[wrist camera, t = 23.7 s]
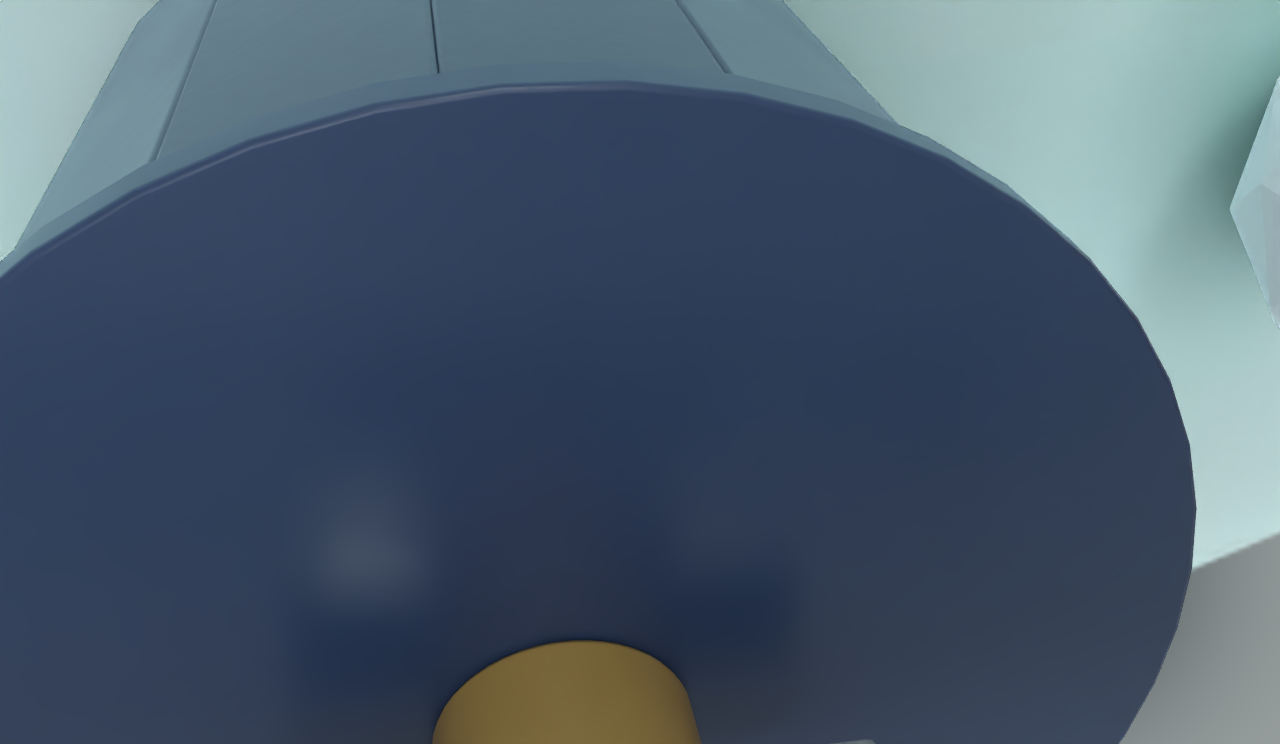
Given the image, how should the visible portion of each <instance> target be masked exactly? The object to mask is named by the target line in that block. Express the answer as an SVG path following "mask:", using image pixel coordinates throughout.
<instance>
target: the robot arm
mask: <svg viewBox="0 0 1280 744" xmlns="http://www.w3.org/2000/svg"><path fill="white" fill-rule="evenodd" d="M833 744H875V743H874V742H873V741H872V740H869V739H864V740H856V741H848V742H841V743H833Z"/></svg>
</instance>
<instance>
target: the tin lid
mask: <svg viewBox="0 0 1280 744" xmlns="http://www.w3.org/2000/svg"><path fill="white" fill-rule="evenodd" d="M1195 520H1196V500H1195V490H1194V481H1193V471H1192V461H1191V452H1190V444H1189V440H1188V437H1187V434H1186V430H1185V427H1184V424H1183V420H1182V417H1181V414H1180V410H1179V407H1178V404H1177V400H1176V397H1175V394H1174V391H1173V387H1172V384H1171V381H1170V378H1169V376H1168V375H1167V373H1166V371H1165V369H1164V367H1163V365H1162V363H1161V361H1160V359H1159V358H1158V356H1157V354H1156V352H1155V350H1154V348H1153V346H1152V344H1151V342H1150V341H1149V339H1148V337H1147V335H1146V333H1145V331H1144V329H1143V327H1142V325H1141V323H1140V322H1139V320H1138V318H1137V317H1136V315H1135V314H1134V313H1133V312H1132V310H1131V309H1130V308H1129V307H1128V305H1127V304H1126V303H1125V302H1124V300H1123V299H1122V298H1121V297H1120V295H1119V294H1118V293H1117V292H1116V291H1115V289H1114V288H1113V287H1112V286H1111V284H1110V283H1109V282H1108V281H1107V279H1106V278H1105V277H1104V276H1103V274H1102V273H1101V272H1100V271H1099V269H1098V268H1097V267H1096V266H1095V264H1094V263H1093V262H1092V261H1091V259H1090V258H1089V257H1088V256H1087V255H1086V254H1085V253H1084V252H1082V251H1081V250H1080V249H1079V248H1078V247H1077V246H1076V245H1075V244H1074V243H1073V242H1072V241H1071V240H1070V239H1069V238H1068V237H1067V236H1066V235H1065V234H1063V233H1062V232H1061V231H1060V230H1059V229H1058V228H1056V227H1055V226H1054V225H1053V224H1052V223H1051V222H1049V221H1048V220H1047V219H1046V218H1045V217H1044V216H1043V215H1041V214H1040V213H1039V212H1038V211H1037V210H1036V209H1034V208H1033V207H1032V206H1031V205H1030V204H1029V203H1027V202H1026V201H1025V200H1024V199H1023V198H1022V197H1021V196H1019V195H1018V194H1017V193H1016V192H1015V191H1014V190H1012V189H1011V188H1010V187H1009V186H1008V185H1007V184H1005V183H1003V182H1002V181H1000V180H998V179H997V178H995V177H993V176H992V175H990V174H989V173H987V172H985V171H984V170H982V169H980V168H979V167H977V166H975V165H974V164H972V163H970V162H969V161H967V160H965V159H964V158H962V157H960V156H959V155H957V154H956V153H954V152H952V151H951V150H949V149H947V148H946V147H944V146H942V145H941V144H939V143H937V142H936V141H934V140H932V139H931V138H929V137H927V136H924V135H922V134H919V133H917V132H914V131H912V130H910V129H907V128H905V127H902V126H900V125H897V124H895V123H892V122H890V121H888V120H885V119H883V118H880V117H878V116H875V115H873V114H870V113H868V112H866V111H863V110H861V109H858V108H856V107H853V106H851V105H848V104H846V103H844V102H841V101H839V100H836V99H832V98H828V97H824V96H820V95H815V94H811V93H807V92H803V91H799V90H795V89H791V88H787V87H783V86H779V85H775V84H771V83H767V82H763V81H759V80H755V79H751V78H747V77H743V76H739V75H735V74H729V73H720V72H710V71H701V70H692V69H682V68H673V67H664V66H655V65H645V64H636V63H627V62H577V63H533V64H496V65H489V66H483V67H476V68H469V69H463V70H456V71H450V72H443V73H436V74H430V75H423V76H417V77H410V78H403V79H397V80H390V81H384V82H377V83H372V84H369V85H365V86H362V87H358V88H355V89H351V90H348V91H344V92H341V93H337V94H333V95H330V96H326V97H323V98H319V99H316V100H312V101H309V102H305V103H302V104H298V105H295V106H291V107H288V108H284V109H281V110H277V111H274V112H270V113H267V114H263V115H260V116H256V117H253V118H251V119H249V120H246V121H244V122H242V123H239V124H237V125H235V126H233V127H230V128H228V129H226V130H223V131H221V132H219V133H216V134H214V135H212V136H209V137H207V138H205V139H203V140H200V141H198V142H196V143H193V144H191V145H189V146H186V147H184V148H182V149H179V150H177V151H175V152H173V153H170V154H168V155H166V156H163V157H161V158H159V159H156V160H154V161H152V162H150V163H147V164H145V165H143V166H141V167H139V168H138V169H136V170H134V171H133V172H131V173H129V174H128V175H126V176H124V177H123V178H121V179H119V180H118V181H116V182H115V183H113V184H111V185H110V186H108V187H106V188H105V189H103V190H101V191H100V192H98V193H96V194H95V195H93V196H92V197H90V198H88V199H87V200H85V201H83V202H82V203H80V204H78V205H77V206H75V207H73V208H72V209H70V210H69V211H67V212H65V213H64V214H62V215H60V216H59V217H57V218H55V219H54V220H52V221H50V222H49V223H47V224H46V225H44V226H42V227H41V228H40V229H39V230H38V231H36V232H35V233H34V234H33V235H32V236H30V237H29V238H28V239H27V240H26V241H24V242H23V243H22V244H21V245H20V246H18V247H17V248H16V249H15V250H14V251H12V252H11V253H10V254H9V255H8V256H6V257H5V258H4V259H3V260H2V261H0V744H833V743H841V742H848V741H856V740H864V739H869V740H872V741H873V742H874V743H875V744H1119V743H1120V742H1121V740H1122V739H1123V737H1124V736H1125V734H1126V733H1127V731H1128V729H1129V727H1130V726H1131V724H1132V722H1133V720H1134V719H1135V717H1136V715H1137V713H1138V711H1139V710H1140V708H1141V706H1142V705H1143V703H1144V701H1145V699H1146V698H1147V696H1148V694H1149V692H1150V691H1151V689H1152V687H1153V685H1154V684H1155V681H1156V679H1157V676H1158V674H1159V672H1160V669H1161V667H1162V664H1163V662H1164V659H1165V657H1166V654H1167V652H1168V649H1169V647H1170V645H1171V642H1172V640H1173V637H1174V635H1175V632H1176V630H1177V627H1178V623H1179V619H1180V615H1181V611H1182V607H1183V603H1184V598H1185V595H1186V590H1187V586H1188V582H1189V578H1190V574H1191V570H1192V559H1193V546H1194V533H1195Z"/></svg>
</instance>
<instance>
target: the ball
mask: <svg viewBox="0 0 1280 744" xmlns="http://www.w3.org/2000/svg"><path fill="white" fill-rule="evenodd" d="M1229 210H1230V212H1231V215H1232V217H1233V220H1234V222H1235V225H1236V227H1237V230H1238V232H1239V235H1240V237H1241V240H1242V242H1243V245H1244V247H1245V250H1246V252H1247V255H1248V257H1249V260H1250V262H1251V265H1252V267H1253V270H1254V272H1255V275H1256V277H1257V280H1258V282H1259V285H1260V287H1261V290H1262V292H1263V295H1264V297H1265V300H1266V302H1267V305H1268V308H1269V310H1270V313H1271V315H1272V318H1273V320H1274V323H1275V325H1276V326H1277V327H1278V328H1279V329H1280V77H1279V78H1278V79H1277V82H1276V84H1275V87H1274V90H1273V93H1272V95H1271V98H1270V101H1269V103H1268V106H1267V109H1266V111H1265V114H1264V117H1263V119H1262V122H1261V125H1260V128H1259V130H1258V133H1257V136H1256V138H1255V141H1254V144H1253V146H1252V149H1251V152H1250V154H1249V157H1248V160H1247V163H1246V165H1245V168H1244V171H1243V173H1242V176H1241V179H1240V181H1239V184H1238V187H1237V189H1236V192H1235V195H1234V198H1233V200H1232V203H1231V206H1230V208H1229Z"/></svg>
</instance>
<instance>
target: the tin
mask: <svg viewBox="0 0 1280 744" xmlns="http://www.w3.org/2000/svg"><path fill="white" fill-rule="evenodd" d="M577 62H627V63H636V64H645V65H655V66H664V67H673V68H682V69H692V70H701V71H710V72H720V73H729V74H735V75H739V76H743V77H747V78H751V79H755V80H759V81H763V82H767V83H771V84H775V85H779V86H783V87H787V88H791V89H795V90H799V91H803V92H807V93H811V94H815V95H820V96H824V97H828V98H832V99H836V100H839V101H841V102H844V103H846V104H848V105H851V106H853V107H856V108H858V109H861V110H863V111H866V112H868V113H870V114H873V115H875V116H878V117H880V118H883V119H885V120H888V121H890V122H892V123H895V124H897V123H896V122H895V121H894V120H893V119H892V118H891V116H890V115H889V114H888V113H887V112H886V111H885V110H884V109H883V108H882V107H881V106H880V105H879V104H878V103H877V102H876V100H875V99H874V98H873V97H872V96H871V95H870V94H869V93H868V92H867V91H866V90H865V89H864V88H863V87H862V85H861V84H860V83H859V82H858V81H857V80H856V79H855V78H854V77H853V76H852V75H851V74H850V73H849V72H848V70H847V69H846V68H845V67H844V66H843V65H842V64H841V63H840V62H839V61H838V60H837V59H836V58H835V57H834V55H833V54H832V53H831V52H830V51H829V50H828V49H827V48H826V47H825V46H824V45H823V44H822V43H821V42H820V40H819V39H818V38H817V37H816V36H815V35H814V34H813V33H812V32H811V31H810V30H809V29H808V28H807V27H806V25H805V24H804V23H803V22H802V21H801V20H800V19H799V18H798V17H797V16H796V15H795V14H794V13H793V12H792V10H791V9H790V8H789V7H788V6H787V5H786V4H785V3H784V2H783V1H782V0H160V1H159V2H158V3H157V4H156V5H155V6H154V7H153V8H152V9H151V10H150V11H149V12H148V13H147V14H146V15H145V16H144V17H143V18H142V19H141V20H140V21H139V22H138V23H137V25H136V27H135V28H134V30H133V32H132V33H131V35H130V37H129V39H128V41H127V42H126V44H125V46H124V48H123V50H122V52H121V53H120V55H119V57H118V59H117V61H116V63H115V64H114V66H113V68H112V70H111V72H110V74H109V76H108V77H107V79H106V81H105V83H104V85H103V87H102V88H101V90H100V92H99V94H98V96H97V98H96V99H95V101H94V103H93V105H92V107H91V109H90V111H89V112H88V114H87V116H86V118H85V120H84V122H83V123H82V125H81V127H80V129H79V131H78V133H77V134H76V136H75V138H74V140H73V142H72V144H71V146H70V147H69V149H68V151H67V153H66V155H65V157H64V158H63V160H62V162H61V164H60V166H59V168H58V169H57V171H56V173H55V175H54V177H53V179H52V181H51V182H50V184H49V186H48V188H47V190H46V192H45V193H44V195H43V197H42V199H41V201H40V203H39V204H38V206H37V208H36V210H35V212H34V214H33V216H32V217H31V219H30V221H29V223H28V225H27V227H26V228H25V230H24V232H23V234H22V236H21V238H20V239H19V241H18V243H17V245H16V247H15V249H16V248H17V247H18V246H20V245H21V244H22V243H23V242H24V241H26V240H27V239H28V238H29V237H30V236H32V235H33V234H34V233H35V232H36V231H38V230H39V229H40V228H41V227H42V226H44V225H46V224H47V223H49V222H50V221H52V220H54V219H55V218H57V217H59V216H60V215H62V214H64V213H65V212H67V211H69V210H70V209H72V208H73V207H75V206H77V205H78V204H80V203H82V202H83V201H85V200H87V199H88V198H90V197H92V196H93V195H95V194H96V193H98V192H100V191H101V190H103V189H105V188H106V187H108V186H110V185H111V184H113V183H115V182H116V181H118V180H119V179H121V178H123V177H124V176H126V175H128V174H129V173H131V172H133V171H134V170H136V169H138V168H139V167H141V166H143V165H145V164H147V163H150V162H152V161H154V160H156V159H159V158H161V157H163V156H166V155H168V154H170V153H173V152H175V151H177V150H179V149H182V148H184V147H186V146H189V145H191V144H193V143H196V142H198V141H200V140H203V139H205V138H207V137H209V136H212V135H214V134H216V133H219V132H221V131H223V130H226V129H228V128H230V127H233V126H235V125H237V124H239V123H242V122H244V121H246V120H249V119H251V118H253V117H256V116H260V115H263V114H267V113H270V112H274V111H277V110H281V109H284V108H288V107H291V106H295V105H298V104H302V103H305V102H309V101H312V100H316V99H319V98H323V97H326V96H330V95H333V94H337V93H341V92H344V91H348V90H351V89H355V88H358V87H362V86H365V85H369V84H372V83H377V82H384V81H390V80H397V79H403V78H410V77H417V76H423V75H430V74H436V73H443V72H450V71H456V70H463V69H469V68H476V67H483V66H489V65H496V64H533V63H577ZM897 125H898V124H897ZM15 249H14V250H15Z"/></svg>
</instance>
